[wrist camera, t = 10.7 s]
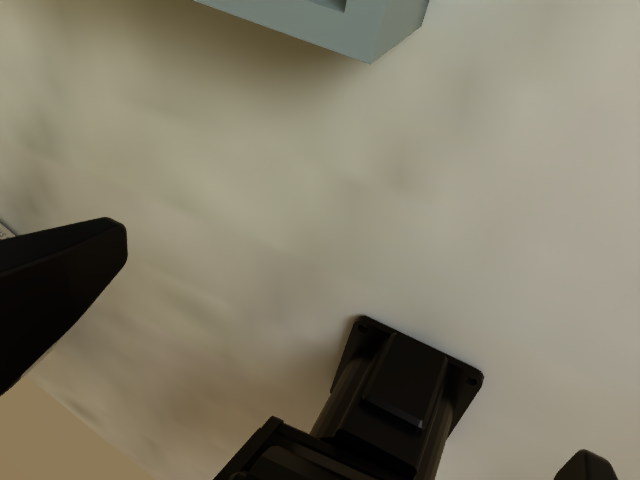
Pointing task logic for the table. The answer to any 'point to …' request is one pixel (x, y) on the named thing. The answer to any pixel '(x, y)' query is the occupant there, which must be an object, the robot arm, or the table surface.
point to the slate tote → (335, 22)
